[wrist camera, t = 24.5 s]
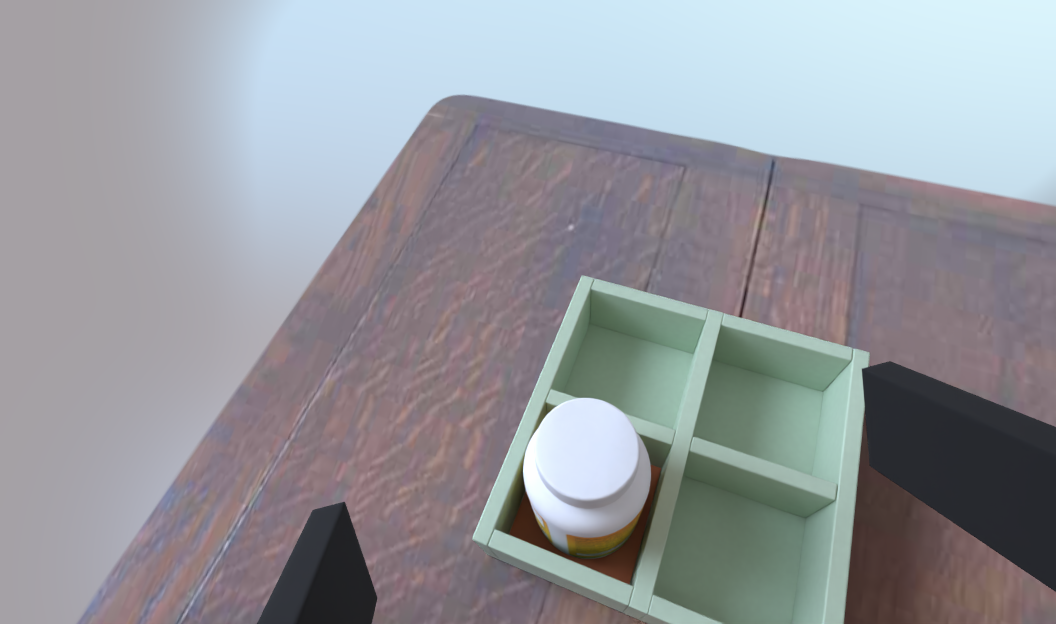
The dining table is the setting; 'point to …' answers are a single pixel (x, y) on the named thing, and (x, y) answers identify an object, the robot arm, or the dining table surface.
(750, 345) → the grid
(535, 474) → the supplement bottle
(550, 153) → the dining table surface
